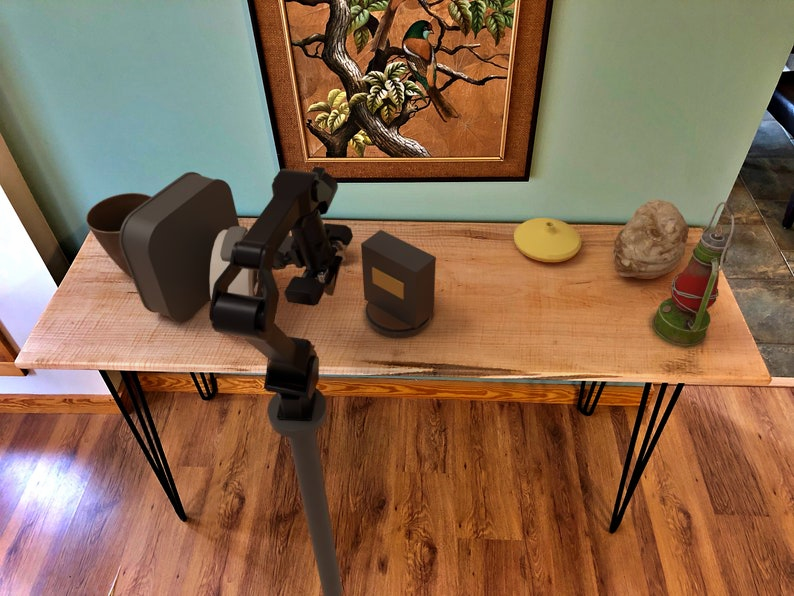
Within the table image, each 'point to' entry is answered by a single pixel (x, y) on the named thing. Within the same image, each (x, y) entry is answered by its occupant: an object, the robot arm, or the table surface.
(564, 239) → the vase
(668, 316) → the lantern
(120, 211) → the flower pot
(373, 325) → the turntable base
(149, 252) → the speaker
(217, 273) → the alarm clock
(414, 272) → the dark upright block
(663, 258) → the rock
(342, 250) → the mechanical counter
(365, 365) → the table surface
